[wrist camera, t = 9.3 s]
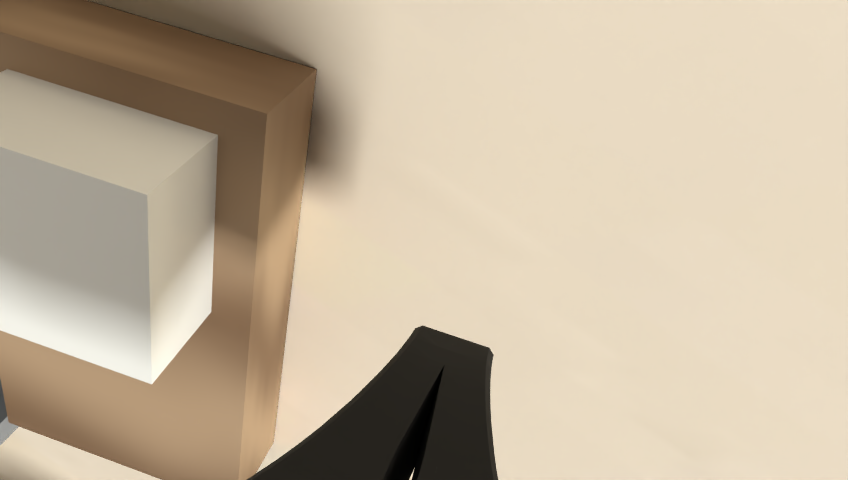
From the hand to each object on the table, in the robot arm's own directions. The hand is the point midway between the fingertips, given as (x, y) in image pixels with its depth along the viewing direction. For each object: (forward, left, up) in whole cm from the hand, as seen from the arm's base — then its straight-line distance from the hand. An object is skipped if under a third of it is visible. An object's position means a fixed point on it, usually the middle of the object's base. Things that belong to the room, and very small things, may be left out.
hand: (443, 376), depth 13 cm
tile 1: (0, +8, -2) cm, 8 cm away
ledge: (-3, +8, -4) cm, 10 cm away
